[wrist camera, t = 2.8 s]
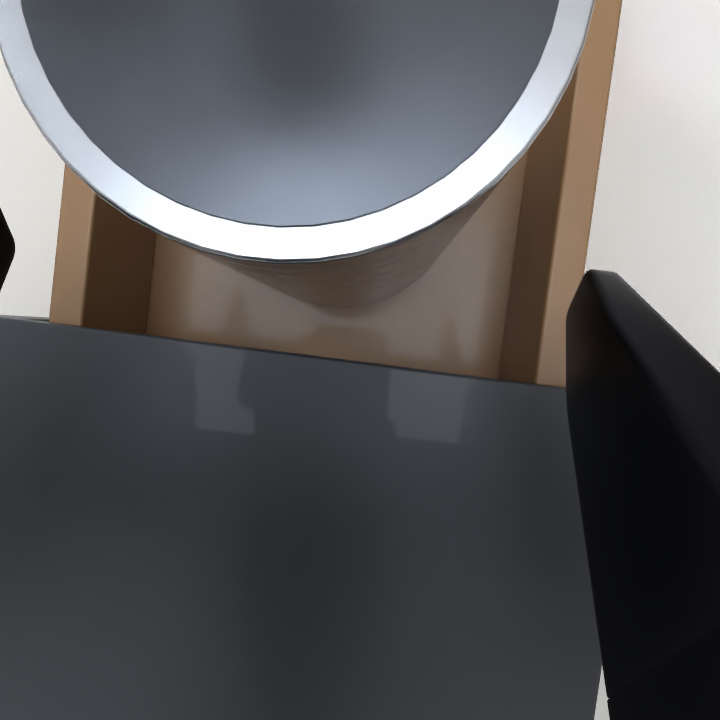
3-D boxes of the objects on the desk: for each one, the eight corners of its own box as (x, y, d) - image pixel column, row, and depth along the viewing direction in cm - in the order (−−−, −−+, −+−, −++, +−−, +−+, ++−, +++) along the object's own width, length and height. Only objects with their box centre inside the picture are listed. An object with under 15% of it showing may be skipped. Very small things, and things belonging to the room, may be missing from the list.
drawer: (168, -175, 18) (87, -376, 13) (605, -125, 18) (698, -312, 13) (103, 423, 19) (3, 456, 14) (521, 477, 19) (577, 530, 14)
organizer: (107, 320, 20) (-34, 313, 13) (547, 376, 20) (641, 398, 13) (59, 774, 20) (-100, 996, 14) (484, 833, 20) (541, 1090, 13)
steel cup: (491, 260, 18) (691, 133, 7) (272, 341, 18) (110, 350, 7) (411, 37, 17) (476, -483, 6) (190, 121, 18) (-114, -236, 7)
